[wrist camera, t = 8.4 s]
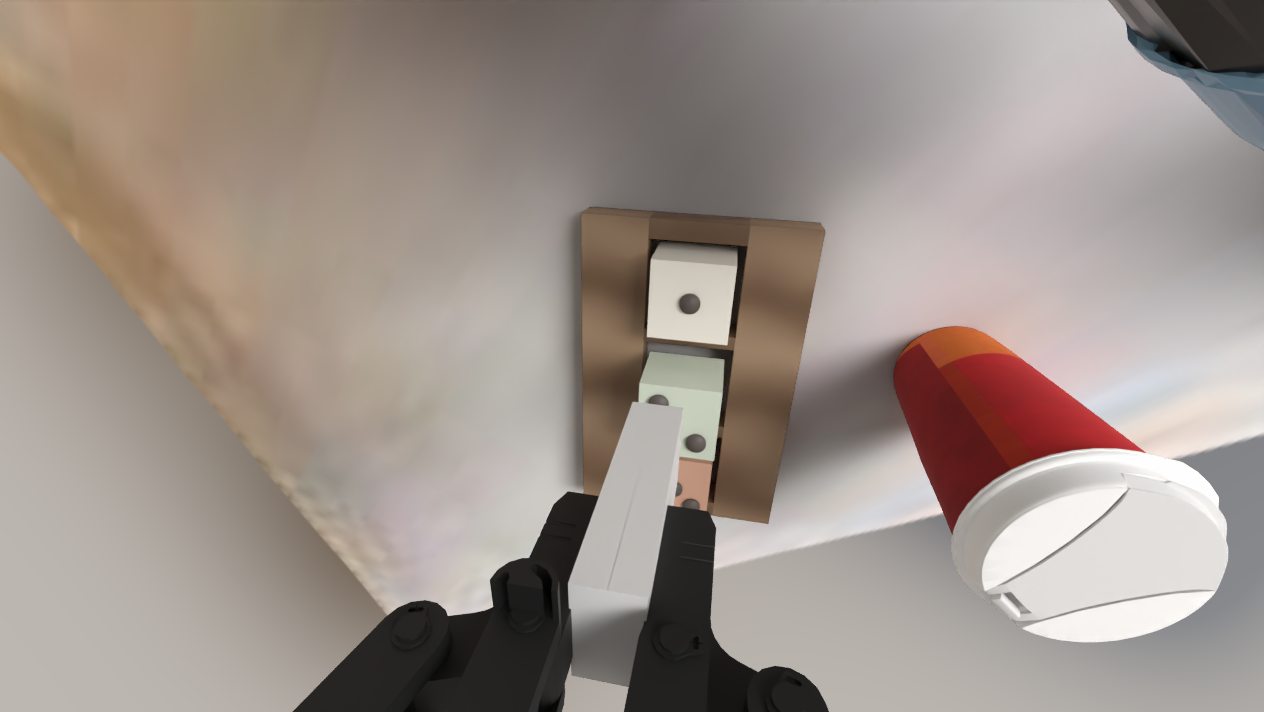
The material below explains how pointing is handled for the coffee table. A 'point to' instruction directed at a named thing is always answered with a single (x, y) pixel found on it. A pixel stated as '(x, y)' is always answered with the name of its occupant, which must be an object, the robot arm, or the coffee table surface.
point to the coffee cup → (1055, 497)
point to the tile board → (759, 342)
